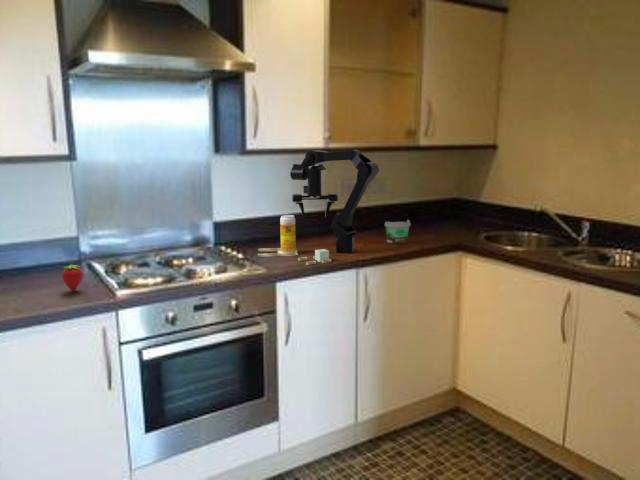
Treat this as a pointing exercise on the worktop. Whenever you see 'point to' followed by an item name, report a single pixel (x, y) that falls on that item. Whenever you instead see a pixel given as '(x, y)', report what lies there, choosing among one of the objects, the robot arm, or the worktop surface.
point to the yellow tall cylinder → (287, 234)
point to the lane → (274, 253)
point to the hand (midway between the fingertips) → (314, 217)
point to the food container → (397, 232)
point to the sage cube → (321, 255)
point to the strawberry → (72, 276)
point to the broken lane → (313, 261)
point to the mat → (294, 252)
